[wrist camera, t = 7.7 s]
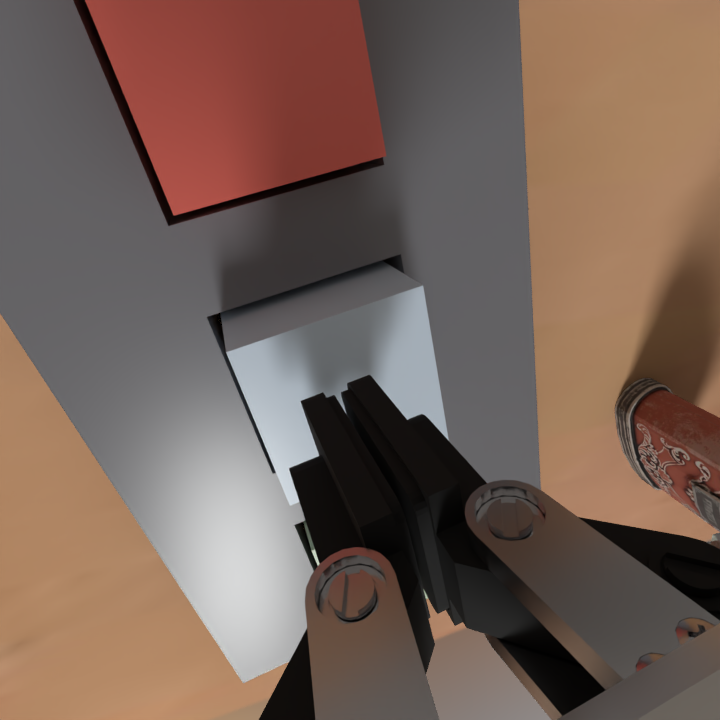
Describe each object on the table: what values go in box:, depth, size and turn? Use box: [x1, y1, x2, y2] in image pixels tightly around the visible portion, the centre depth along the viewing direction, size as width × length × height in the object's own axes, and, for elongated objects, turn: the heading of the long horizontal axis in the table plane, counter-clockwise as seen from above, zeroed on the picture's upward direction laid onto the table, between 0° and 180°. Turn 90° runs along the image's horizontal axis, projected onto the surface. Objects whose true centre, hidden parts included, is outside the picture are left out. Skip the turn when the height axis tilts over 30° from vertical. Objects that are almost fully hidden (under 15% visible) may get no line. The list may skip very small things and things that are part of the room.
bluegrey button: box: [220, 260, 449, 506], centre depth 14 cm, size 5×5×3 cm
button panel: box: [0, 0, 541, 683], centre depth 15 cm, size 14×24×3 cm, turn 14°
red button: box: [85, 0, 386, 216], centre depth 11 cm, size 5×5×3 cm
